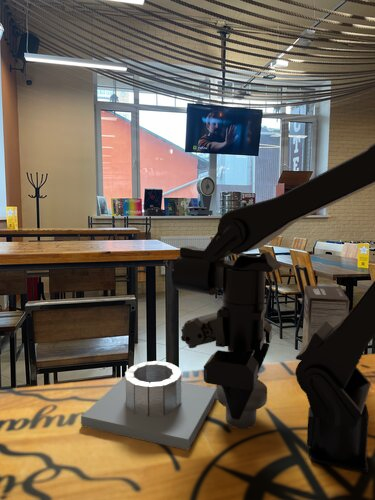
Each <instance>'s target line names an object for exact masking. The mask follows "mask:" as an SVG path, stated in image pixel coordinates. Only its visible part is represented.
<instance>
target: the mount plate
mask: <svg viewBox="0 0 375 500" xmlns="http://www.w3.org/2000/svg"><path fill="white" fill-rule="evenodd" d="M216 393H217V387H212V386H208V385H207V386H205V385H201V384H200V385H199V384H194V383H188V382H182V381H181V404H180V405H179V407H178V408H177V409H176V410H175V411H173V412H170V413H168V414H166V415H163V416H154V417H149V416H148V417H146V416H141V415H136V414H134V413H132V412H131V411H130V410H129V409H127V407H126V383H125V376H124V377H122V378H121V379H120V380H119V381H118V382H117V383H116V384H115V385H114V386H112V387H111V388H110V389H109V390H108V391H107V392H106V393H105V394H103V396H101V397H100V398H99V399H98V400H97V401H96V402H95V403H94V404H93V405H92V406H90V408H88V409H87V410H86V411H85V412H84V413H83V414H82V415H80V416H81V417H80V418H81V419H80V421H81V423H80V424H81V426H82V427H83V428H84V427H85V428H89V429H93V430H98V431H101V432H106V433H111V434H115V435H120V436H124V437H128V438H134V439H138V440H141V441H146V442H149V443H153V444H155V443H156V444H159V445H163V446H168V447H172V448H177V449H182V450H186V451H189V450H190V448H191V446H192V444H193V442H194V441H195V439H196V437H197V435H198V433H199V431H200V429H201V427H202V426H203V423H204V422H205V419H206V418H207V416H208V414H209V412H210V410H211V408H212V407H213V404H214V402H215V401H216V400H217V396H216Z"/></svg>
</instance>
